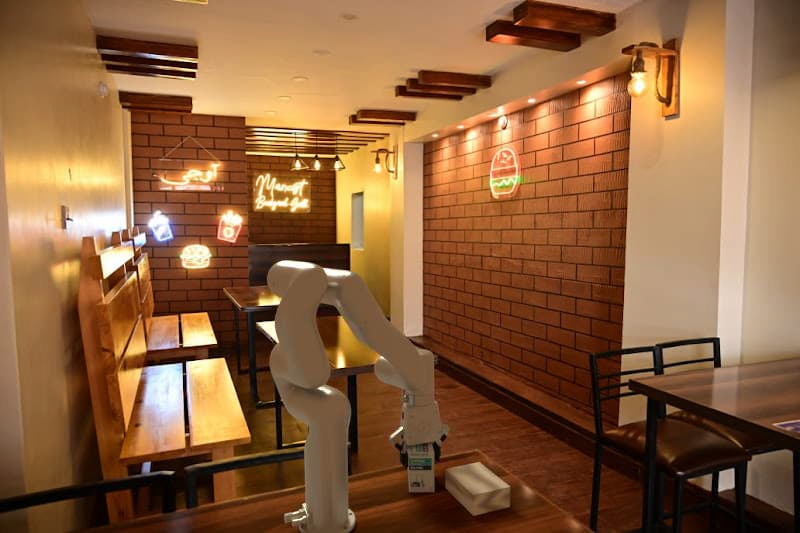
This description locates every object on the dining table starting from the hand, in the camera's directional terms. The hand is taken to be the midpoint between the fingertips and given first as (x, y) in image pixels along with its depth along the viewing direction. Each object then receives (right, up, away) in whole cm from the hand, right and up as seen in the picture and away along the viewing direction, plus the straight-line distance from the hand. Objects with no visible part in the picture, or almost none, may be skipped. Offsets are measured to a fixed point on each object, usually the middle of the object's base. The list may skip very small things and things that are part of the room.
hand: (420, 462), depth 136 cm
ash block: (+14, -6, -7) cm, 16 cm away
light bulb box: (0, -6, 0) cm, 6 cm away
